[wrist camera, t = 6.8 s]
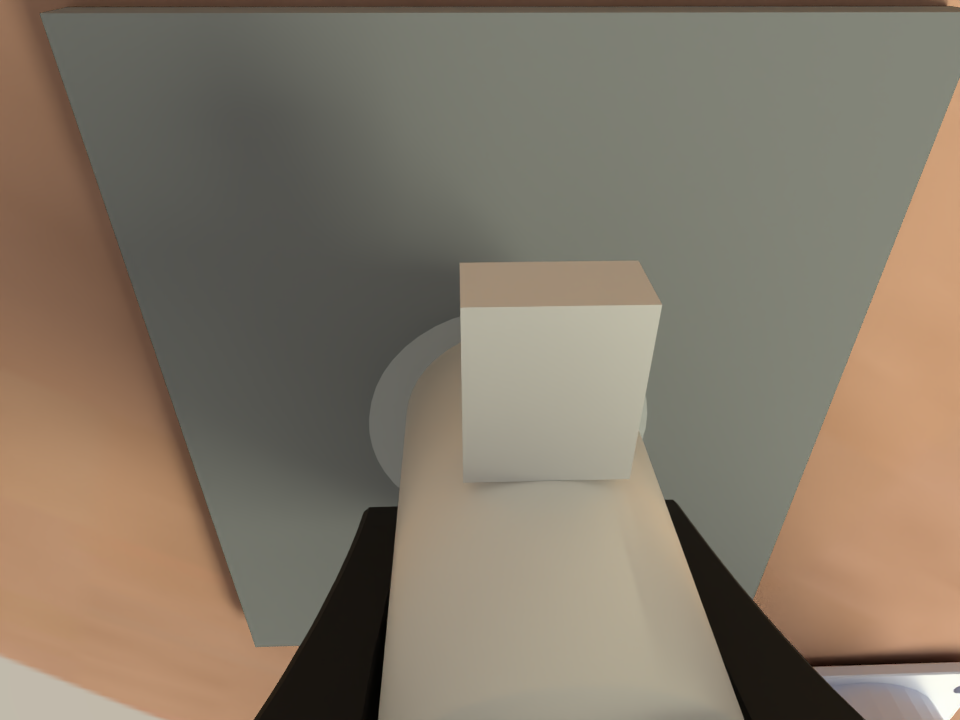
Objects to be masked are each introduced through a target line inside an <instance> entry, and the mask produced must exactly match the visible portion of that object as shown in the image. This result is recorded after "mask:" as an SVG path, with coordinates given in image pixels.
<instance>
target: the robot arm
mask: <svg viewBox="0 0 960 720" xmlns="http://www.w3.org/2000/svg"><path fill="white" fill-rule="evenodd" d="M665 503H666V506H667V509H668V511H669V514H670V517H671V520H672V522H673V525H674V528H675V531H676V533H677V536H678V539H679V542H680V544H681V547H682V550H683V553H684V555H685V558H686V561H687V564H688V566H689V569H690V572H691V575H692V577H693V580H694V583H695V586H696V588H697V591H698V594H699V597H700V599H701V602H702V605H703V608H704V610H705V613H706V616H707V618H708V621H709V624H710V627H711V629H712V632H713V635H714V638H715V640H716V643H717V646H718V649H719V651H720V654H721V657H722V660H723V662H724V665H725V668H726V671H727V673H728V676H729V679H730V682H731V684H732V687H733V690H734V693H735V695H736V698H737V701H738V704H739V706H740V709H741V712H742V715H743V717H744V720H950V718H951V717H952V716H953V715H954V714H955V712H956V711H957V710H958V709H959V707H960V662H943V663H912V664H881V665H850V666H820V667H812V666H811V665H810V664H809V663H808V662H807V661H806V660H805V658H804V657H803V656H802V655H801V654H800V653H799V652H798V651H797V650H796V649H795V648H794V646H793V645H792V644H791V643H790V642H789V641H788V640H787V639H786V638H785V637H784V636H783V634H782V633H781V632H780V631H779V630H778V629H777V628H776V627H775V625H774V624H773V623H772V622H771V621H770V620H769V619H768V617H767V616H766V615H765V614H764V613H763V612H762V610H761V609H760V608H759V607H758V606H757V604H756V603H755V602H754V601H753V600H752V598H751V597H750V596H749V595H748V594H747V592H746V591H745V590H744V589H743V588H742V586H741V585H740V584H739V583H738V582H737V580H736V579H735V578H734V577H733V575H732V574H731V573H730V572H729V571H728V569H727V568H726V567H725V565H724V564H723V563H722V562H721V560H720V559H719V558H718V556H717V555H716V554H715V553H714V551H713V550H712V549H711V548H710V546H709V545H708V544H707V542H706V541H705V540H704V538H703V537H702V536H701V534H700V533H699V532H698V530H697V529H696V528H695V526H694V525H693V524H692V522H691V521H690V520H689V518H688V517H687V516H686V514H685V513H684V511H683V510H682V509H681V507H680V506H679V505H678V504H677V503H676V502H675V501H674V500H665ZM397 511H398V506H391V507H369V508H368V509H367V510H365V511H364V512H363V515H362V518H361V521H360V524H359V527H358V529H357V532H356V534H355V537H354V540H353V542H352V544H351V547H350V549H349V551H348V554H347V556H346V558H345V560H344V562H343V565H342V567H341V569H340V571H339V573H338V575H337V577H336V580H335V582H334V583H333V585H332V587H331V589H330V591H329V593H328V595H327V597H326V599H325V601H324V603H323V605H322V607H321V609H320V611H319V613H318V615H317V617H316V618H315V620H314V622H313V624H312V626H311V628H310V629H309V631H308V633H307V634H306V636H305V638H304V640H303V641H302V643H301V645H300V646H299V648H298V650H297V652H296V653H295V655H294V657H293V658H292V660H291V662H290V664H289V665H288V667H287V669H286V670H285V672H284V674H283V675H282V677H281V679H280V680H279V682H278V683H277V685H276V686H275V688H274V690H273V691H272V693H271V694H270V696H269V697H268V699H267V701H266V702H265V704H264V705H263V707H262V708H261V710H260V711H259V713H258V714H257V716H256V717H255V719H254V720H378V715H379V704H380V693H381V683H382V672H383V661H384V651H385V640H386V629H387V618H388V608H389V597H390V586H391V576H392V565H393V554H394V543H395V533H396V522H397Z"/></svg>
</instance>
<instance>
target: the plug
mask: <svg viewBox="0 0 960 720" xmlns="http://www.w3.org/2000/svg"><path fill="white" fill-rule="evenodd" d="M661 309H662V303H661V302H660V300H659V298H658V296H657V294H656V292H655V290H654V289H653V287H652V285H651V283H650V281H649V279H648V278H647V276H646V274H645V272H644V270H643V268H642V266H641V265H640V263H639V261H560V262H477V263H460V324H461V342H460V343H459V344H457V345H455V346H453V347H452V348H450V349H448V350H447V351H446V352H444V353H443V354H442V355H440V356H439V357H438V358H436V359H435V360H434V361H433V362H432V363H431V364H430V365H429V366H428V367H427V368H426V370H425V371H424V372H423V374H422V375H421V376H420V378H419V379H418V381H417V383H416V385H415V386H414V388H413V390H412V393H411V396H410V399H409V402H408V408H407V415H406V426H405V436H404V447H403V458H402V468H401V479H400V490H399V501H398V511H397V522H396V533H395V543H394V554H393V565H392V576H391V586H390V597H389V608H388V618H387V629H386V640H385V651H384V661H383V672H382V683H381V693H380V704H379V715H378V720H744V717H743V715H742V712H741V709H740V706H739V704H738V701H737V698H736V695H735V693H734V690H733V687H732V684H731V682H730V679H729V676H728V673H727V671H726V668H725V665H724V662H723V660H722V657H721V654H720V651H719V649H718V646H717V643H716V640H715V638H714V635H713V632H712V629H711V627H710V624H709V621H708V618H707V616H706V613H705V610H704V608H703V605H702V602H701V599H700V597H699V594H698V591H697V588H696V586H695V583H694V580H693V577H692V575H691V572H690V569H689V566H688V564H687V561H686V558H685V555H684V553H683V550H682V547H681V544H680V542H679V539H678V536H677V533H676V531H675V528H674V525H673V522H672V520H671V517H670V514H669V511H668V509H667V506H666V503H665V500H664V498H663V495H662V492H661V489H660V487H659V484H658V481H657V478H656V476H655V473H654V470H653V467H652V465H651V462H650V459H649V456H648V454H647V451H646V448H645V445H644V443H643V440H642V437H641V434H640V432H639V426H640V421H641V415H642V410H643V405H644V399H645V394H646V389H647V383H648V378H649V373H650V367H651V362H652V357H653V351H654V346H655V341H656V335H657V330H658V325H659V319H660V314H661Z"/></svg>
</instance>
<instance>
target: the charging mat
mask: <svg viewBox="0 0 960 720" xmlns="http://www.w3.org/2000/svg"><path fill="white" fill-rule="evenodd" d="M40 16H41V19H42V22H43V25H44V28H45V31H46V34H47V37H48V39H49V42H50V45H51V48H52V51H53V54H54V57H55V60H56V63H57V66H58V69H59V72H60V75H61V78H62V81H63V83H64V86H65V89H66V92H67V95H68V98H69V101H70V104H71V107H72V110H73V113H74V116H75V119H76V122H77V125H78V128H79V130H80V133H81V136H82V139H83V142H84V145H85V148H86V151H87V154H88V157H89V160H90V163H91V166H92V169H93V172H94V174H95V177H96V180H97V183H98V186H99V189H100V192H101V195H102V198H103V201H104V204H105V207H106V210H107V213H108V216H109V218H110V221H111V224H112V227H113V230H114V233H115V236H116V239H117V242H118V245H119V248H120V251H121V254H122V257H123V260H124V262H125V265H126V268H127V271H128V274H129V277H130V280H131V283H132V286H133V289H134V292H135V295H136V298H137V301H138V304H139V306H140V309H141V312H142V315H143V318H144V321H145V324H146V327H147V330H148V333H149V336H150V339H151V342H152V345H153V348H154V350H155V353H156V356H157V359H158V362H159V365H160V368H161V371H162V374H163V377H164V380H165V383H166V386H167V389H168V392H169V394H170V397H171V400H172V403H173V406H174V409H175V412H176V415H177V418H178V421H179V424H180V427H181V430H182V433H183V436H184V438H185V441H186V444H187V447H188V450H189V453H190V456H191V459H192V462H193V465H194V468H195V471H196V474H197V477H198V480H199V482H200V485H201V488H202V491H203V494H204V497H205V500H206V503H207V506H208V509H209V512H210V515H211V518H212V521H213V524H214V526H215V529H216V532H217V535H218V538H219V541H220V544H221V547H222V550H223V553H224V556H225V559H226V562H227V565H228V568H229V570H230V573H231V576H232V579H233V582H234V585H235V588H236V591H237V594H238V597H239V600H240V603H241V606H242V609H243V612H244V614H245V617H246V620H247V623H248V626H249V629H250V632H251V635H252V638H253V641H254V644H255V647H271V646H300V645H301V643H302V641H303V640H304V638H305V636H306V634H307V633H308V631H309V629H310V628H311V626H312V624H313V622H314V620H315V618H316V617H317V615H318V613H319V611H320V609H321V607H322V605H323V603H324V601H325V599H326V597H327V595H328V593H329V591H330V589H331V587H332V585H333V583H334V582H335V580H336V577H337V575H338V573H339V571H340V569H341V567H342V565H343V562H344V560H345V558H346V556H347V554H348V551H349V549H350V547H351V544H352V542H353V540H354V537H355V534H356V532H357V529H358V527H359V524H360V521H361V518H362V515H363V512H364V511H365V510H367V509H368V508H369V507H391V506H398V501H399V490H400V479H401V468H402V458H403V447H404V436H405V426H406V415H407V408H408V402H409V399H410V396H411V393H412V390H413V388H414V386H415V385H416V383H417V381H418V379H419V378H420V376H421V375H422V374H423V372H424V371H425V370H426V368H427V367H428V366H429V365H430V364H431V363H432V362H433V361H434V360H435V359H436V358H438V357H439V356H440V355H442V354H443V353H444V352H446V351H447V350H448V349H450V348H452V347H453V346H455V345H457V344H459V343H460V342H461V324H460V263H477V262H560V261H639V263H640V265H641V266H642V268H643V270H644V272H645V274H646V276H647V278H648V279H649V281H650V283H651V285H652V287H653V289H654V290H655V292H656V294H657V296H658V298H659V300H660V302H661V303H662V309H661V314H660V319H659V325H658V330H657V335H656V341H655V346H654V351H653V357H652V362H651V367H650V373H649V378H648V383H647V389H646V394H645V399H644V405H643V410H642V415H641V421H640V426H639V432H640V434H641V437H642V440H643V443H644V445H645V448H646V451H647V454H648V456H649V459H650V462H651V465H652V467H653V470H654V473H655V476H656V478H657V481H658V484H659V487H660V489H661V492H662V495H663V498H664V500H674V501H675V502H676V503H677V504H678V505H679V506H680V507H681V509H682V510H683V511H684V513H685V514H686V516H687V517H688V518H689V520H690V521H691V522H692V524H693V525H694V526H695V528H696V529H697V530H698V532H699V533H700V534H701V536H702V537H703V538H704V540H705V541H706V542H707V544H708V545H709V546H710V548H711V549H712V550H713V551H714V553H715V554H716V555H717V556H718V558H719V559H720V560H721V562H722V563H723V564H724V565H725V567H726V568H727V569H728V571H729V572H730V573H731V574H732V575H733V577H734V578H735V579H736V580H737V582H738V583H739V584H740V585H741V586H742V588H743V589H744V590H745V591H746V592H747V594H748V595H749V596H750V597H751V598H752V600H753V598H754V596H755V593H756V591H757V588H758V586H759V583H760V581H761V578H762V576H763V573H764V570H765V568H766V565H767V563H768V560H769V558H770V555H771V553H772V550H773V548H774V545H775V543H776V540H777V538H778V535H779V533H780V530H781V528H782V525H783V522H784V520H785V517H786V515H787V512H788V510H789V507H790V505H791V502H792V500H793V497H794V495H795V492H796V490H797V487H798V485H799V482H800V480H801V477H802V474H803V472H804V469H805V467H806V464H807V462H808V459H809V457H810V454H811V452H812V449H813V447H814V444H815V442H816V439H817V437H818V434H819V431H820V429H821V426H822V424H823V421H824V419H825V416H826V414H827V411H828V409H829V406H830V404H831V401H832V399H833V396H834V394H835V391H836V389H837V386H838V383H839V381H840V378H841V376H842V373H843V371H844V368H845V366H846V363H847V361H848V358H849V356H850V353H851V351H852V348H853V346H854V343H855V341H856V338H857V335H858V333H859V330H860V328H861V325H862V323H863V320H864V318H865V315H866V313H867V310H868V308H869V305H870V303H871V300H872V298H873V295H874V293H875V290H876V287H877V285H878V282H879V280H880V277H881V275H882V272H883V270H884V267H885V265H886V262H887V260H888V257H889V255H890V252H891V250H892V247H893V245H894V242H895V239H896V237H897V234H898V232H899V229H900V227H901V224H902V222H903V219H904V217H905V214H906V212H907V209H908V207H909V204H910V202H911V199H912V196H913V194H914V191H915V189H916V186H917V184H918V181H919V179H920V176H921V174H922V171H923V169H924V166H925V164H926V161H927V159H928V156H929V154H930V151H931V148H932V146H933V143H934V141H935V138H936V136H937V133H938V131H939V128H940V126H941V123H942V121H943V118H944V116H945V113H946V111H947V108H948V106H949V103H950V100H951V98H952V95H953V93H954V90H955V88H956V85H957V83H958V80H959V78H960V8H959V7H953V6H645V7H65V8H61V9H56V10H52V11H48V12H43V13H40Z"/></svg>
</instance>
